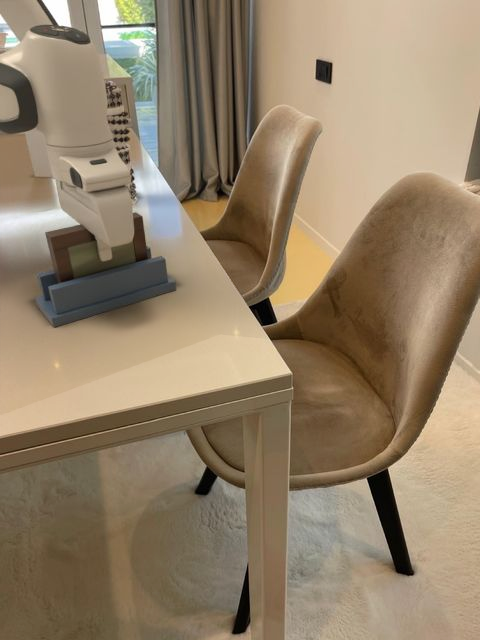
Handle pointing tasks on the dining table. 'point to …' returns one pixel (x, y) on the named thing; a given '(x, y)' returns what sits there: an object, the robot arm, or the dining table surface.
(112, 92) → the decorative candle
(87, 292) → the holder
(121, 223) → the robot arm
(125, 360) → the dining table surface
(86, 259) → the frame
